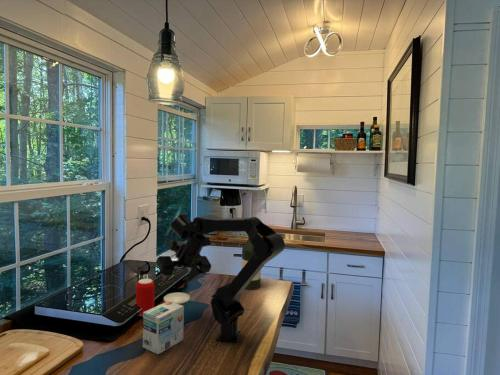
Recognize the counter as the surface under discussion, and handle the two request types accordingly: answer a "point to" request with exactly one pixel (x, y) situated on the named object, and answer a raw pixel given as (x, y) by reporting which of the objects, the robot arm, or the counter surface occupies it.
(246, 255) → the wine bottle
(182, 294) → the coaster
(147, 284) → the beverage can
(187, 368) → the counter surface
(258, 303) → the counter surface
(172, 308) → the light bulb box
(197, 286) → the counter surface
